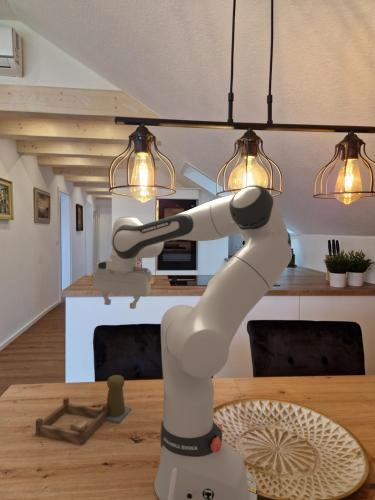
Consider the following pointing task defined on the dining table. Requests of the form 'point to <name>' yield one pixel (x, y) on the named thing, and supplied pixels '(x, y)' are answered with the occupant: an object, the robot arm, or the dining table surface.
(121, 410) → the cork
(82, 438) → the frame
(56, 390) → the dining table surface
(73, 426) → the offcut stack
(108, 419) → the slate coaster
